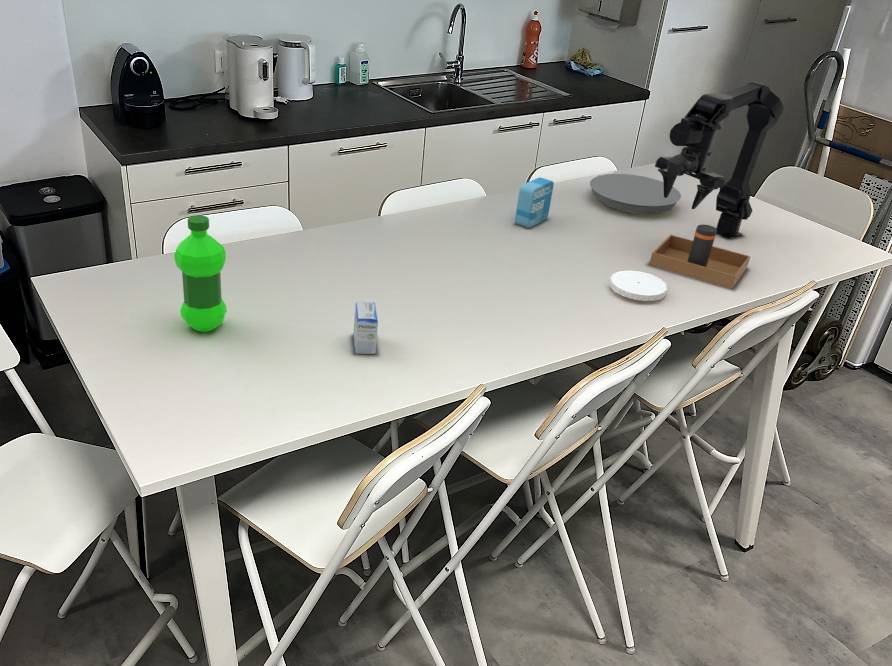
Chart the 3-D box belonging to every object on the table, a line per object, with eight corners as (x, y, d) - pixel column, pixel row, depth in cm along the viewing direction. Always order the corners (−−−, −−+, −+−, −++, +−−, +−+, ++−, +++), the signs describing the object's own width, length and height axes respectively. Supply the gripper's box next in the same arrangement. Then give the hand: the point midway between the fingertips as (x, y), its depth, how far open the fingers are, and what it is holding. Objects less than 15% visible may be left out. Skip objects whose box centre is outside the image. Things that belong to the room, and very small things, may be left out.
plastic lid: (674, 304, 211) (677, 294, 210) (621, 305, 208) (623, 296, 207) (650, 278, 222) (652, 270, 221) (600, 279, 220) (602, 270, 219)
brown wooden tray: (667, 247, 241) (670, 234, 239) (746, 269, 231) (750, 256, 229) (649, 265, 229) (652, 252, 227) (731, 289, 220) (735, 276, 218)
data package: (526, 229, 245) (533, 189, 239) (513, 225, 247) (519, 185, 241) (547, 218, 253) (554, 179, 247) (534, 214, 255) (541, 175, 249)
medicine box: (353, 335, 188) (354, 300, 183) (373, 336, 188) (375, 301, 184) (355, 354, 181) (357, 318, 177) (376, 354, 182) (378, 319, 177)
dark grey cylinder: (694, 264, 231) (706, 223, 225) (709, 272, 227) (721, 230, 221) (681, 267, 229) (692, 226, 222) (695, 275, 225) (708, 233, 219)
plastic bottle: (231, 335, 185) (227, 227, 171) (182, 339, 182) (174, 230, 168) (225, 313, 193) (220, 208, 179) (177, 317, 190) (169, 211, 176)
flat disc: (575, 186, 279) (578, 172, 277) (657, 187, 282) (660, 174, 280) (603, 219, 256) (606, 205, 253) (691, 220, 259) (695, 206, 257)
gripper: (651, 135, 224) (633, 193, 232) (710, 156, 212) (689, 216, 219) (677, 135, 231) (658, 191, 238) (735, 156, 218) (714, 214, 226)
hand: (679, 203), depth 230 cm, fingers open, 9 cm apart
